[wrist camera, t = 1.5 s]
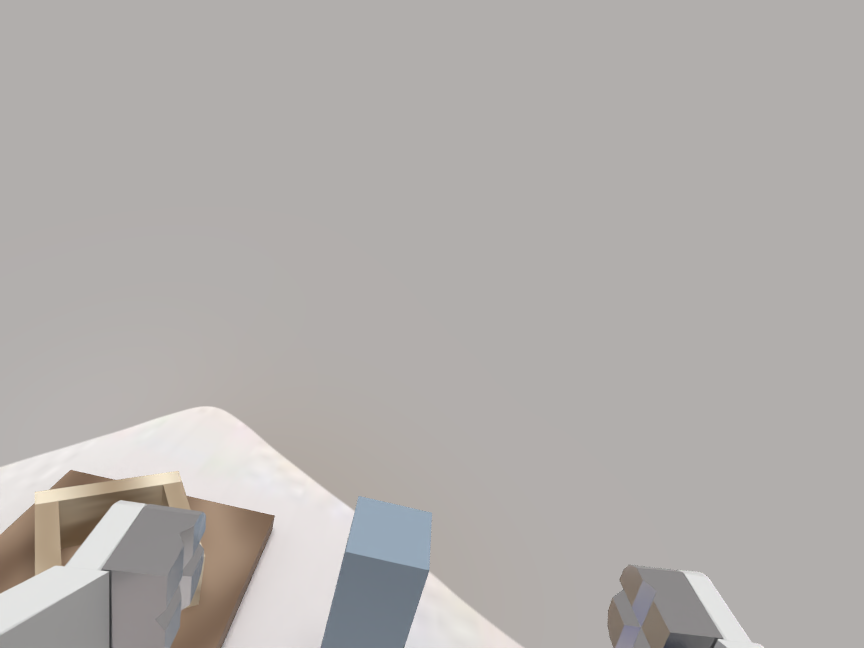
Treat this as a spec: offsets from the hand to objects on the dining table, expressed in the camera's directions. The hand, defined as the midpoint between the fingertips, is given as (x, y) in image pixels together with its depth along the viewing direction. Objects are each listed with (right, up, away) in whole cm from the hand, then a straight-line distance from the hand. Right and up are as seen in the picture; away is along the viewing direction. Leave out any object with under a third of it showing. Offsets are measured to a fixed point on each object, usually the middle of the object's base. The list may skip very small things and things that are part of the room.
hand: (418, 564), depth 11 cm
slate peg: (-5, -18, +22) cm, 29 cm away
